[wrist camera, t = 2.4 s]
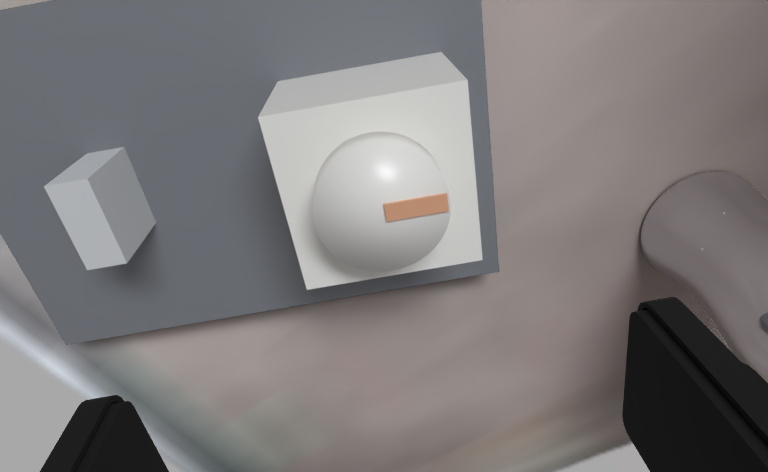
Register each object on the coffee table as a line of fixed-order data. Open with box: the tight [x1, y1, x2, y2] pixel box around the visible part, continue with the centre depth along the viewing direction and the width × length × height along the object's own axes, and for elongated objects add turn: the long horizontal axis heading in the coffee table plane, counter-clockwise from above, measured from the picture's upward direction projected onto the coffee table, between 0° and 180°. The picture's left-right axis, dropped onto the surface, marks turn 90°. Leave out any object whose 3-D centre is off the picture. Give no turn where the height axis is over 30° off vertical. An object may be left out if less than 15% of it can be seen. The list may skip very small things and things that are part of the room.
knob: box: [258, 52, 483, 290], centre depth 19 cm, size 7×7×7 cm
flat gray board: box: [0, 0, 499, 345], centre depth 22 cm, size 15×22×6 cm
